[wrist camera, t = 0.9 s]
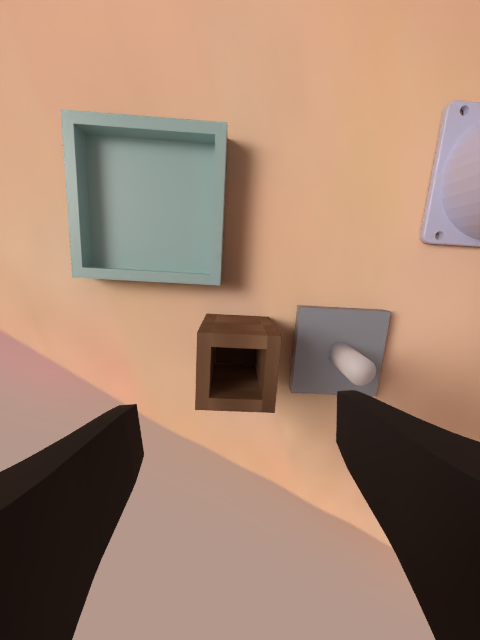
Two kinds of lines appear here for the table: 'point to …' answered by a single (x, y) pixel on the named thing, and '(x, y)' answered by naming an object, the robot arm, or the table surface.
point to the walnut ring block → (237, 379)
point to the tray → (145, 197)
